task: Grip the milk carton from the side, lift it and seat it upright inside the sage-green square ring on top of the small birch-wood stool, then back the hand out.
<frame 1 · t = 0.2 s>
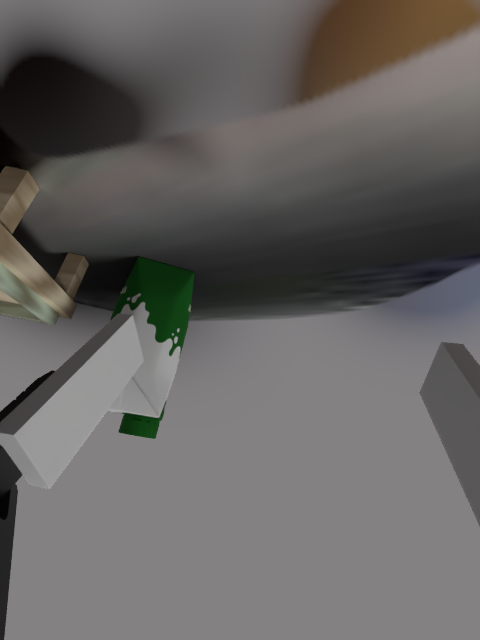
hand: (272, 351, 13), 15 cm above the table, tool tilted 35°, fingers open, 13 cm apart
milk carton: (165, 275, 40), on the table
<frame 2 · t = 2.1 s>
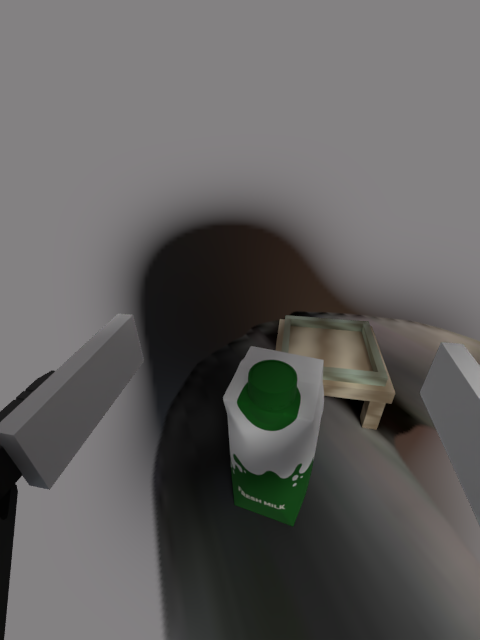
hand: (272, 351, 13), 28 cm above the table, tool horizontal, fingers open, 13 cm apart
milk carton: (270, 486, 36), on the table
stool: (321, 386, 50), on the table
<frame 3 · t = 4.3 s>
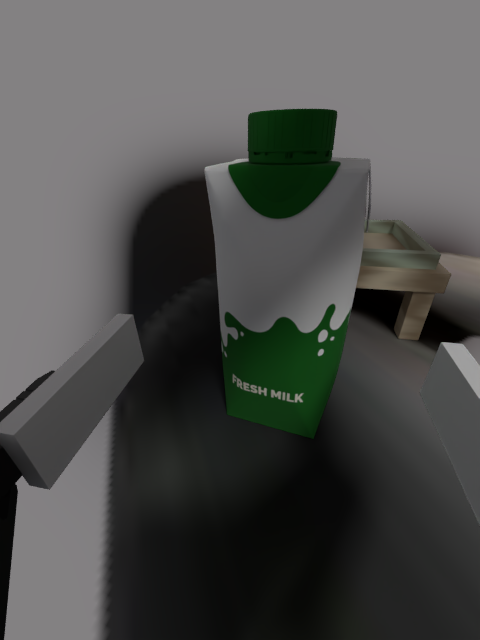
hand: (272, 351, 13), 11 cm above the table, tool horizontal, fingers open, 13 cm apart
milk carton: (279, 396, 26), on the table
stool: (340, 303, 39), on the table
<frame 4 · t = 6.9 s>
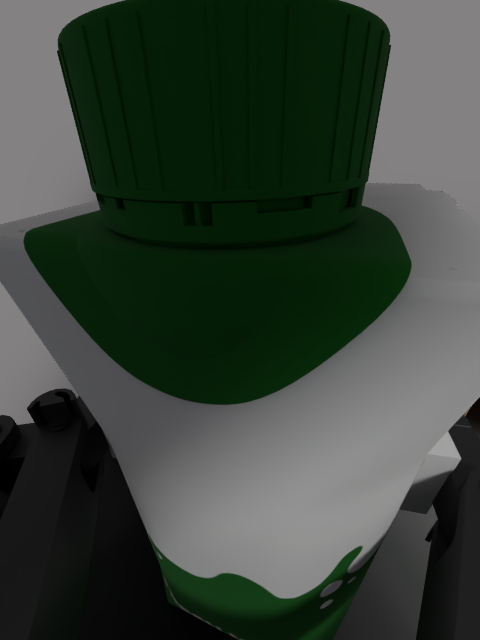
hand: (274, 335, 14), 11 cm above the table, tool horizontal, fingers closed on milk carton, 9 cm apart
milk carton: (257, 548, 16), on the table, touching gripper
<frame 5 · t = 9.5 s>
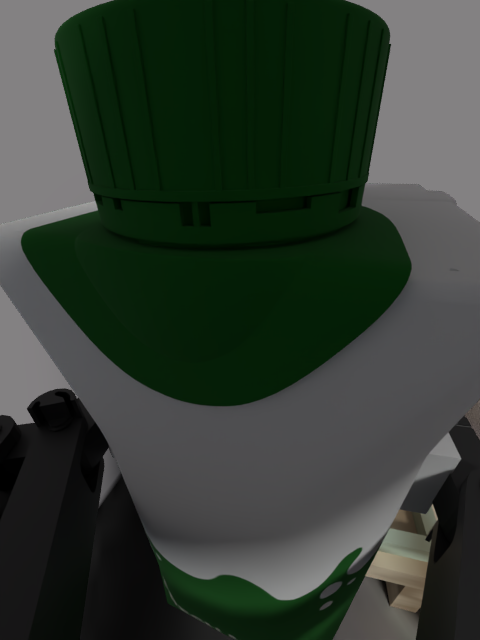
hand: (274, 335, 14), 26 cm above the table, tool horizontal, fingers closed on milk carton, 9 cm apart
milk carton: (257, 549, 16), point 15 cm above the table, touching gripper
stool: (321, 501, 32), on the table
when the fingers open (21 cm above the table, at t = 12.4 s): milk carton drops 2 cm, resting on stool.
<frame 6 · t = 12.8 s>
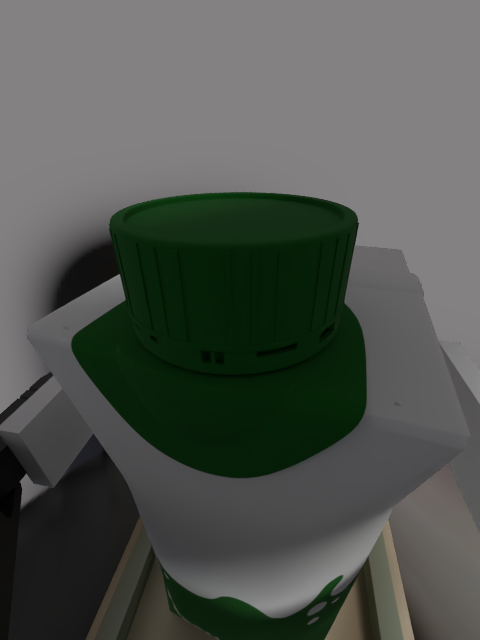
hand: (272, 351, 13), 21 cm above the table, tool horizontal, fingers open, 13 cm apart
milk carton: (253, 560, 17), point 8 cm above the table, touching stool
stool: (256, 607, 21), on the table
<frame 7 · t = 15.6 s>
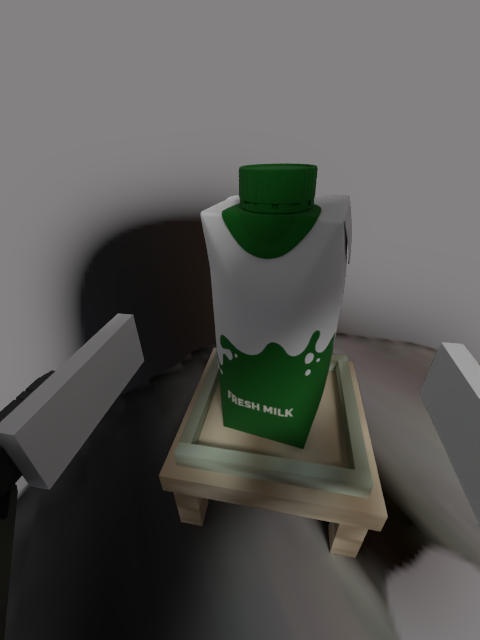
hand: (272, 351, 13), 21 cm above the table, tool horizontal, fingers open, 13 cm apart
milk carton: (272, 407, 27), point 8 cm above the table, touching stool
stool: (271, 458, 31), on the table
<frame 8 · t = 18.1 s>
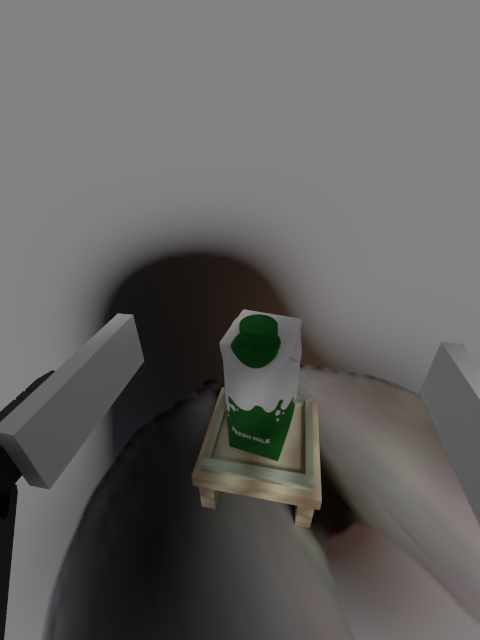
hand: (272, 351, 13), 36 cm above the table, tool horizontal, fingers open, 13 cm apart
milk carton: (260, 433, 42), point 8 cm above the table, touching stool
stool: (261, 465, 46), on the table
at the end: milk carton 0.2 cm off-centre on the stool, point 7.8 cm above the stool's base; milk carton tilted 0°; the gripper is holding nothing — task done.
